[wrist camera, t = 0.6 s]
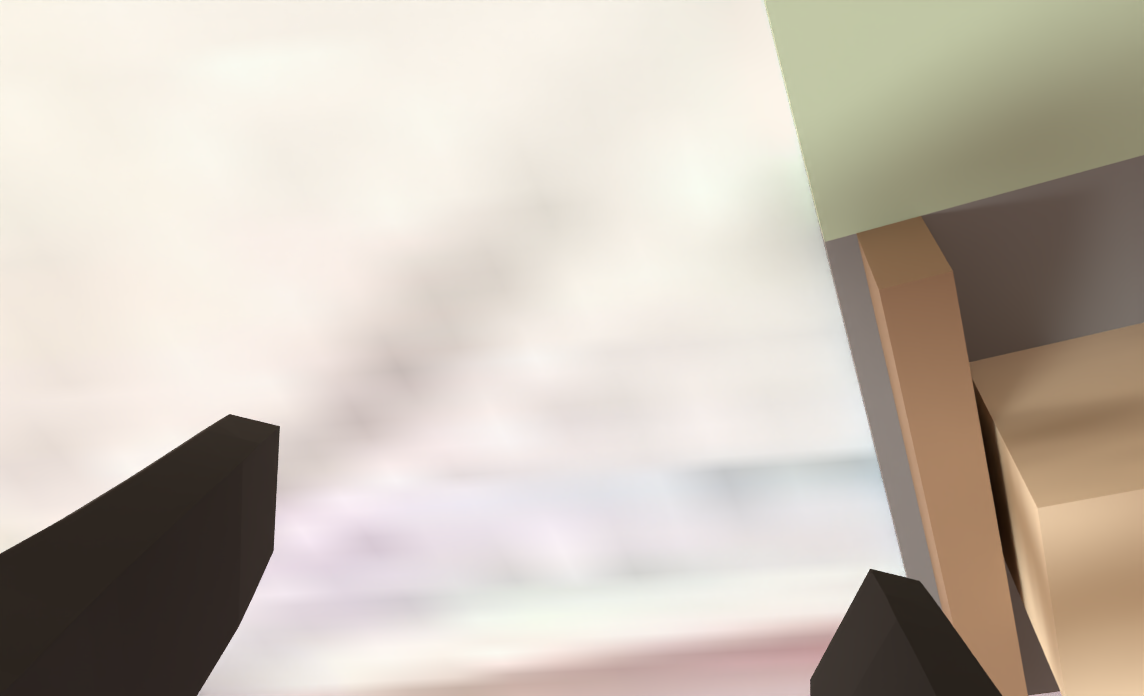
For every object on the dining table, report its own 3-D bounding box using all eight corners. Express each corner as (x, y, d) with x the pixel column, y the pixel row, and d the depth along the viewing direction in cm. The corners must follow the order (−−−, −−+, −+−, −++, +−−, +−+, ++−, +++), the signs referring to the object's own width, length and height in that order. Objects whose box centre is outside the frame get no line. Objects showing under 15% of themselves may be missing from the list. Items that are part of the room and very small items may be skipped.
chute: (1323, 627, 22) (1414, 743, 19) (932, 681, 24) (963, 791, 22) (1377, -494, 12) (1579, -584, 9) (711, -213, 14) (717, -219, 12)
